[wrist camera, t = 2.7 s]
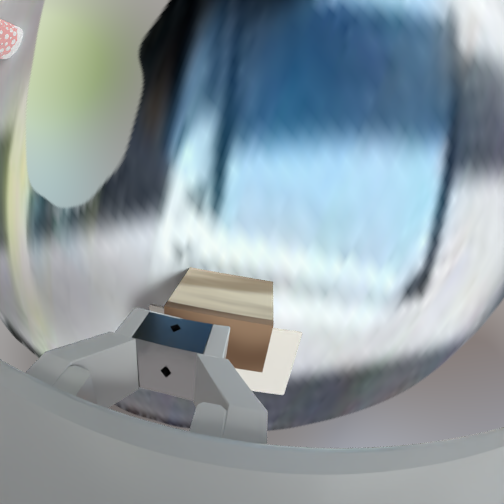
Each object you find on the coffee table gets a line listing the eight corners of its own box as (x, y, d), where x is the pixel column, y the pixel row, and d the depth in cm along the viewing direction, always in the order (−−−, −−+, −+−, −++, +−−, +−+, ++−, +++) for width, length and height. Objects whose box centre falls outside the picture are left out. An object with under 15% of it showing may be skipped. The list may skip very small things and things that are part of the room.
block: (190, 267, 29) (164, 305, 22) (272, 281, 29) (273, 325, 21) (186, 307, 31) (163, 353, 23) (264, 321, 30) (262, 372, 23)
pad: (150, 304, 31) (149, 306, 30) (302, 332, 31) (302, 333, 30) (151, 368, 33) (150, 370, 33) (283, 393, 33) (283, 394, 33)
